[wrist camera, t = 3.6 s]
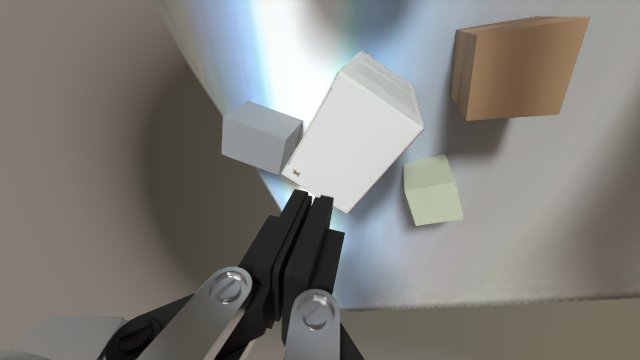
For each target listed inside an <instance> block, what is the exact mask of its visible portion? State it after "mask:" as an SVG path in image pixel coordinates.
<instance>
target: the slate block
mask: <svg viewBox="0 0 640 360" xmlns="http://www.w3.org/2000/svg"><path fill="white" fill-rule="evenodd" d="M301 126H302V120H300V119H297V118H294V117H291V116H289V115H286V114H283V113H280V112H278V111H275V110H272V109H269V108H267V107H264V106H261V105H258V104H256V103H253V102H250V101H249V102H247V103H245V104H243V105H242V106H240V107H238V108H237V109H235V110H233V111H232V112H230V113H228V114H227V115H225V116H223V134H222V154H223V155H225V156H228V157H231V158H234V159H236V160H239V161H241V162H244V163H247V164H249V165H252V166H255V167H257V168H260V169H263V170H265V171H268V172H271V173H273V174H276V175H279V174H280V173H281V171H282V170H283V169H284V167H285V166H286V164H287V163H288V161H289V159H290V158H291V156H292V155H293V153H294V151H295V150H296V146H297V142H298V138H299V134H300V130H301Z"/></svg>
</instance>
